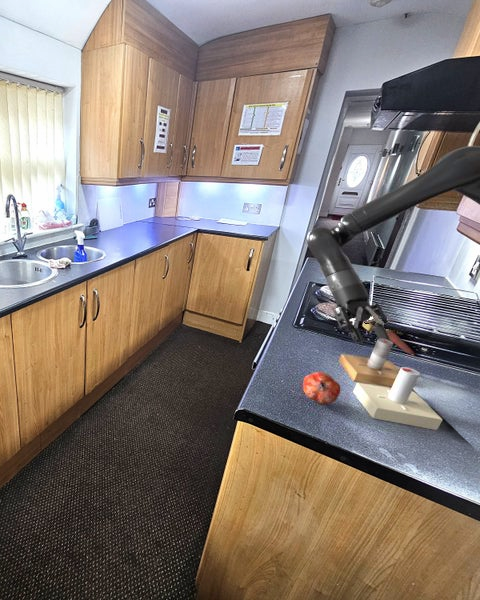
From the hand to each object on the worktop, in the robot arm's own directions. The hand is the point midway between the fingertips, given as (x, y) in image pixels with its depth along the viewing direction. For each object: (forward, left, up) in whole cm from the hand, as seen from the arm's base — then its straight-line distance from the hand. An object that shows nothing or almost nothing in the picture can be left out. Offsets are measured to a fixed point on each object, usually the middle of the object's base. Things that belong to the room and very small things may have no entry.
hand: (372, 341), depth 90 cm
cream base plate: (+1, +17, -10) cm, 20 cm away
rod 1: (-1, +2, -7) cm, 7 cm away
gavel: (-17, -21, -10) cm, 29 cm away
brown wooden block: (-1, +2, -10) cm, 10 cm away
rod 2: (+1, +17, -7) cm, 18 cm away
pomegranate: (+17, +18, -10) cm, 27 cm away
